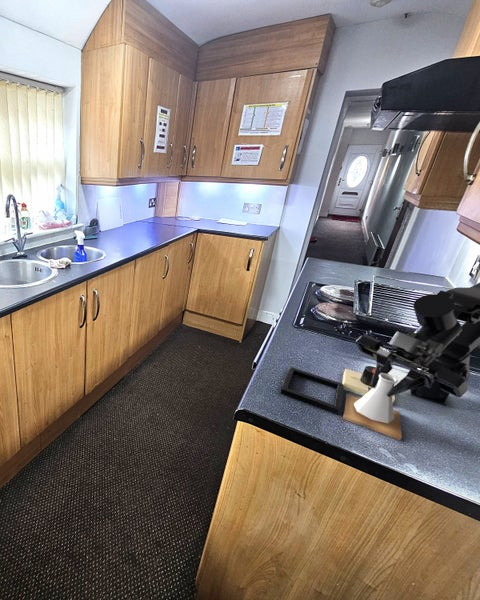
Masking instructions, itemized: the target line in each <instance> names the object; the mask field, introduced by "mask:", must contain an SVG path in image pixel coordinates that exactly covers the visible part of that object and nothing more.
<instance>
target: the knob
mask: <svg viewBox="0 0 480 600" xmlns="http://www.w3.org/2000/svg"><path fill="white" fill-rule="evenodd" d="M375 369H376V366H372V365H366V366H365V367H364V369H363V372H362V376H361V379H360V381H361V382H362V383H363V384H365V385H367V386H370V384H371V381H372V378H373V375H374V372H375Z"/></svg>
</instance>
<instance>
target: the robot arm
mask: <svg viewBox="0 0 480 600" xmlns="http://www.w3.org/2000/svg"><path fill="white" fill-rule="evenodd" d="M413 310H414V314H415V317H416V321H417V323H418V325H419V326H418V327H417V328H416V329H414V331H410V332H408V333H407V334H405V333H403V332H401V331H398V330H397V331H396V332H395V333H394V335H393V336H392V338H391V339H390V340H389V342H388V345H390V346H391V348H392V350H390V349H388V348H386V347H385V346H384V344H383V341H382V340H379V339H377V338H375V337H373V336H370V335H367V334H364V335H363V334H362V335H360V336H358V337H357V338H356V340H355V344H356V346H357V348H358V350H359V352H361V353H362V354H364V355H366V356H368V357H371V358H373V359H374V360H375V361H376V363H375V364H376V365H375V367H376V369H375V372H374V375H373V378H372V381H371V384H370V386H371V387H372V388H374V386H375V385H376V384H377V382H378V380H379V374H381V373H386V374H390V372H391V371H392V370H393V366H392V363H397V364H399V365H400V366H403V367H405V368H408V370H409V371H408V372H407V374H406V375H405V376H404V377H403V378H402V379H401V380H399V381H398V382H397V383H395V384H394V387H393V388H392V389H391V390H390V391H389V392H388V393H387V396H388V397H391V396H394V395H395V396H396V395H400V394H402V393H404V392H408V391H409V394H410V396H413V397H416V398H419V399H422V400H426V401H428V402H432V403H434V404H438V405H440V406H441V405H442V406H446V407H447V406H448V401H447V399H448V398H449V396H450V395H451V396H454V397H456V398H461V397H463V396H464V395H465V394H466V393H467V391H468V390H469V387H468V381H469V378H470V376H471V371H470V370H471V369H470V359H471V353H472V351H473V350H474V349H475V348H477V347H478V346H479V345H480V282H478V283H475V284H474V285H472V286H470V287H454V288H451V289H447V290H446V291H445V290H442V289H441V290H439V291H438V292H437V293H431V294H425V295H423V296H422V295H421V296H420V297H418V298H416V299H415V300H414V302H413ZM459 321H461V322H464V323H463V324H462V325H461V323H460V322H459ZM393 350H394V351H393Z"/></svg>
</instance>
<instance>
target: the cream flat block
mask: <svg viewBox="0 0 480 600" xmlns="http://www.w3.org/2000/svg"><path fill="white" fill-rule="evenodd" d="M362 374H363V372H362V373H361V372H358V371H356V370H351V369H350V368H349V369H348V368H345V369H344V371H343V374H342V382H341V383H342V384H343V386H344V389H343V391H347V392H350V393H353V394H356V395H359V396H362V397H363V396H364V395H366V394H367V393H368V392H369V391H370V390H371V389H373V388H372V387H371V386H367V385H365V384H363V383H362V382H361V381H360V379H361V376H362ZM395 401H396V395H394V396H392V402H393V403H394V402H395Z"/></svg>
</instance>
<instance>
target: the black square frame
mask: <svg viewBox="0 0 480 600" xmlns="http://www.w3.org/2000/svg"><path fill="white" fill-rule="evenodd" d="M293 376H297V377H298V378H302V379H305V380H307V381H311V382H314V383H317V384H320V385H323V386H326V387H329V388H332V389H335V397H334V403H333V404H332V403H330V402H326V401H324V400H322V399H318V398H316V397H313V396H310V395H307V394H304V393H302V392H299V391H296V390H293V389H290V388H289V385H290V383H291V380H292V377H293ZM280 394H281V395H284V396H287V397H289V398H292V399H295V400H297V401H300V402H302V403H305V404H308V405H311V406H313V407H316V408H319V409H321V410H324V411H326V412H329V413H332V414H335V415H339V413H340V411H341V409H342V404H343V397H344V386H343V384H342V382H338V381H335V380H332V379H329V378H326V377H323V376H320V375H317V374H314V373H311V372H308V371H304V370H302V369H298V368H295V367H293V366H290V367H289V368H288V370H287V373H286V375H285V378H284V381H283V383H282V385H281V389H280Z"/></svg>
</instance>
